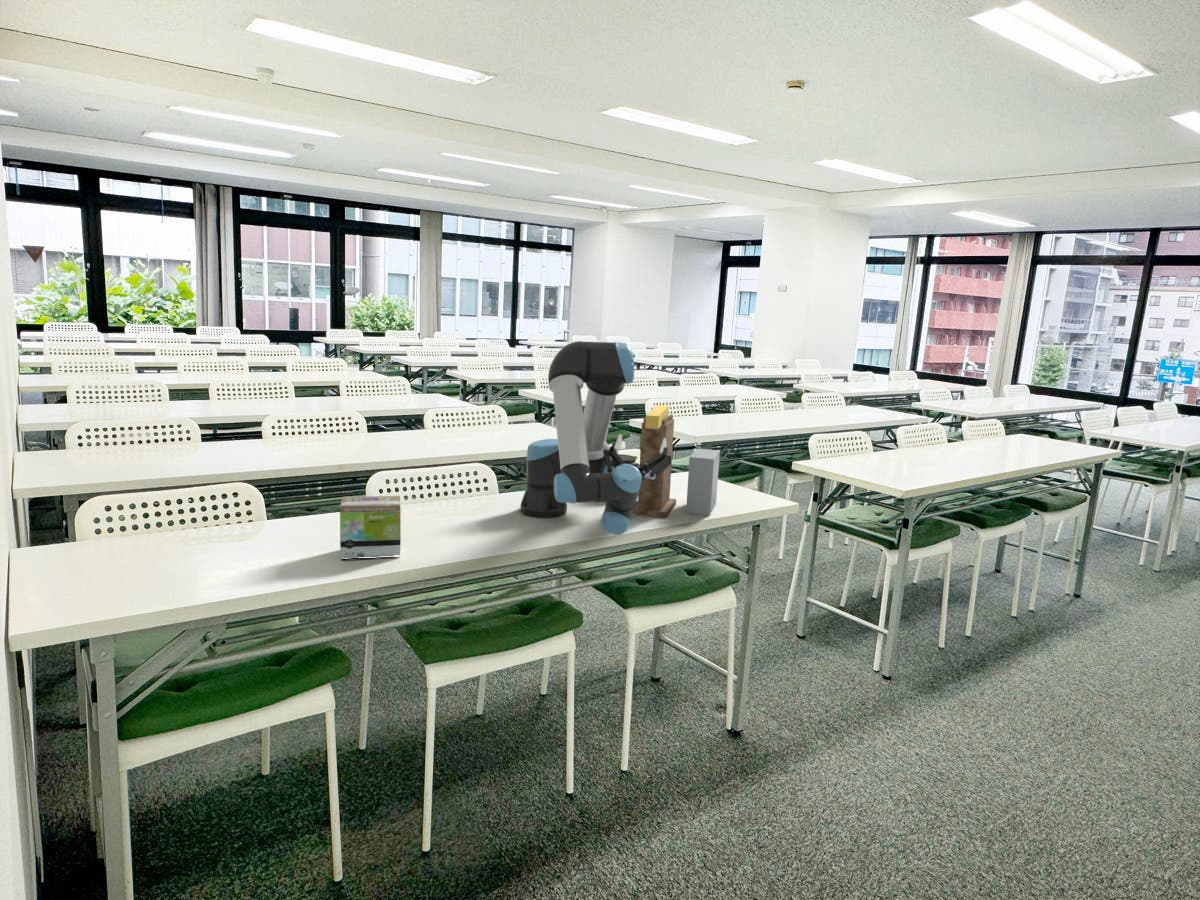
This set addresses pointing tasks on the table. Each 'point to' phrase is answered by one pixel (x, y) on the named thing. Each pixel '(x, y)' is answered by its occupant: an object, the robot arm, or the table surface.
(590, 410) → the robot arm
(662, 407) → the block
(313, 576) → the table surface
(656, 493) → the stand
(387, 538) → the tea box
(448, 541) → the table surface
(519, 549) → the table surface
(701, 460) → the grey slab
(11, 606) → the table surface
